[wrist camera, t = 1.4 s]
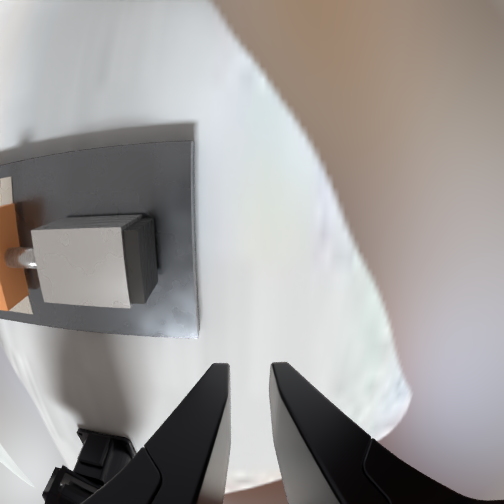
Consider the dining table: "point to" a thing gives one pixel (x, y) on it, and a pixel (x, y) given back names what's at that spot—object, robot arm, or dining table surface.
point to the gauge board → (110, 204)
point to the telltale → (4, 278)
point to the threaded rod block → (92, 260)
